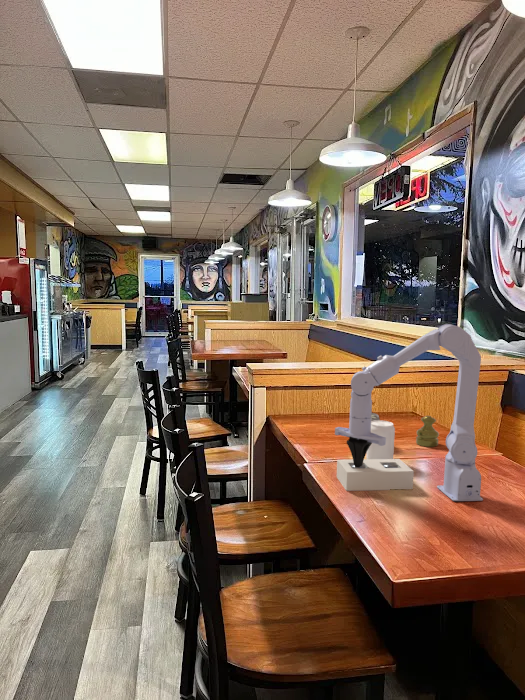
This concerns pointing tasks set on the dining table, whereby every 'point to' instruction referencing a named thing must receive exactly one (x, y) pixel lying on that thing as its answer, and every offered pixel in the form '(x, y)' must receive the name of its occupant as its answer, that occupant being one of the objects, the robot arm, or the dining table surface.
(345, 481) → the bore block
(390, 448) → the beverage can
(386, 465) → the peg
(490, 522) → the dining table surface
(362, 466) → the peg
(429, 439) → the olive green tiered piece
